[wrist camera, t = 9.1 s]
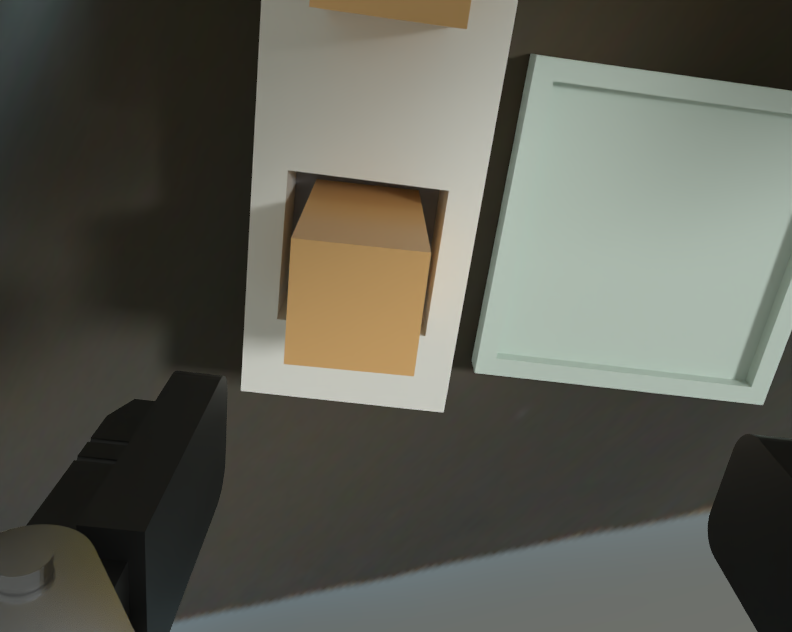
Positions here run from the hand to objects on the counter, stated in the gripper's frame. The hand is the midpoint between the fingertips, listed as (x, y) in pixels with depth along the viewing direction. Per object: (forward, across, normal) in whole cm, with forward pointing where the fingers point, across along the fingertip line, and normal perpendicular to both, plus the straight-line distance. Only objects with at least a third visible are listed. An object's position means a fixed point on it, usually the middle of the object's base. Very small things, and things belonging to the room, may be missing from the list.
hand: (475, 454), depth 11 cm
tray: (+19, -10, +1) cm, 21 cm away
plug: (+18, +2, +2) cm, 18 cm away
